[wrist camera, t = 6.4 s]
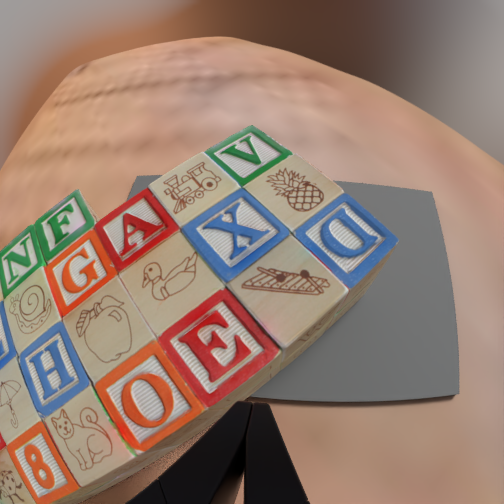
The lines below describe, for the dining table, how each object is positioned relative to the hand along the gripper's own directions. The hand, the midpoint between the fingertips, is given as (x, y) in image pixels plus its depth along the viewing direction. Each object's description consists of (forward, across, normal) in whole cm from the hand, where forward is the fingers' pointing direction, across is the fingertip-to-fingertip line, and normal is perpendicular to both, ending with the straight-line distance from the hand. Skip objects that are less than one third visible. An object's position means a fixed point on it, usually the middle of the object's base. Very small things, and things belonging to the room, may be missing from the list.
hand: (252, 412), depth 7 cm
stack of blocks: (+2, +2, +4) cm, 5 cm away
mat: (+11, 0, 0) cm, 11 cm away
